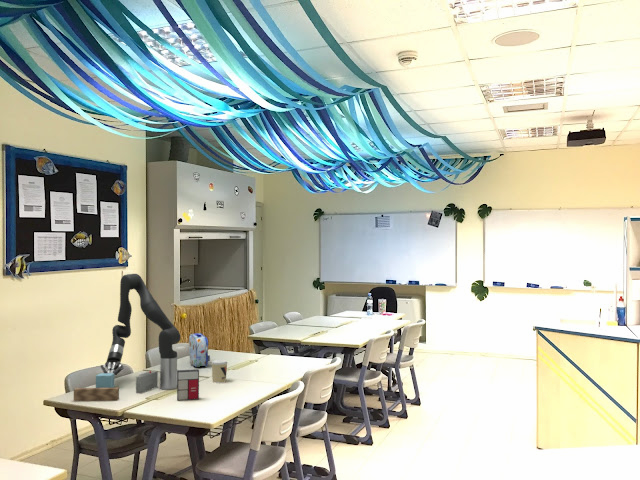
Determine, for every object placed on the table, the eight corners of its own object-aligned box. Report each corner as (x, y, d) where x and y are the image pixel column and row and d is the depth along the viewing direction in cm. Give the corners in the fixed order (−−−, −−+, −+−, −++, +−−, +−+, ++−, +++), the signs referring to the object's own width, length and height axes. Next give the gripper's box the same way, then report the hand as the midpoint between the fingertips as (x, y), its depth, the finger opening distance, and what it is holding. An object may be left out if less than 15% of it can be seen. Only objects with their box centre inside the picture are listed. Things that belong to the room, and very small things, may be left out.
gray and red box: (177, 401, 282) (177, 371, 282) (177, 398, 286) (177, 370, 286) (198, 399, 285) (199, 370, 285) (198, 397, 289) (198, 369, 289)
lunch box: (211, 368, 361) (211, 335, 362) (195, 369, 357) (195, 336, 357) (201, 360, 386) (202, 329, 387) (187, 362, 382) (187, 330, 382)
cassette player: (153, 386, 312) (153, 369, 312) (157, 387, 311) (157, 369, 312) (136, 393, 297) (136, 374, 298) (140, 393, 297) (140, 375, 297)
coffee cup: (223, 383, 320) (223, 363, 320) (208, 382, 322) (208, 362, 322) (229, 380, 329) (229, 360, 329) (214, 379, 331) (215, 359, 331)
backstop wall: (128, 390, 304) (128, 379, 304) (117, 400, 282) (117, 388, 282) (88, 390, 302) (88, 379, 302) (73, 401, 281) (73, 389, 281)
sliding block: (114, 389, 300) (114, 373, 300) (110, 392, 294) (111, 375, 294) (99, 389, 300) (99, 373, 300) (95, 392, 294) (95, 375, 294)
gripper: (102, 350, 312) (94, 377, 300) (125, 350, 313) (119, 376, 301) (105, 358, 318) (97, 384, 305) (128, 358, 318) (122, 384, 306)
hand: (108, 380), depth 303 cm, fingers closed
